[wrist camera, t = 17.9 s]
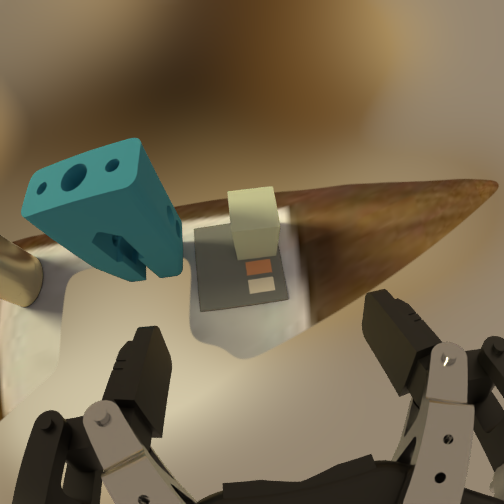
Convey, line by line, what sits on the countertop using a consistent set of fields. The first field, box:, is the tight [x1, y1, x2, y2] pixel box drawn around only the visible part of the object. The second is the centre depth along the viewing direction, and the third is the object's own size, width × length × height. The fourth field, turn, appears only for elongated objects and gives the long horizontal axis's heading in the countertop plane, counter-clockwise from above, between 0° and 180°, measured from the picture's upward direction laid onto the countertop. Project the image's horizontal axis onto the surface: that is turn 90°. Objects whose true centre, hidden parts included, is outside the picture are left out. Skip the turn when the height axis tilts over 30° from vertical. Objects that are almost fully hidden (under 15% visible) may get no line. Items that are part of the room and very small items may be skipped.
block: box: [21, 138, 183, 282], centre depth 27 cm, size 12×5×20 cm, turn 98°
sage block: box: [228, 187, 280, 260], centre depth 33 cm, size 5×5×8 cm
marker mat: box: [194, 223, 288, 312], centre depth 36 cm, size 11×12×1 cm
